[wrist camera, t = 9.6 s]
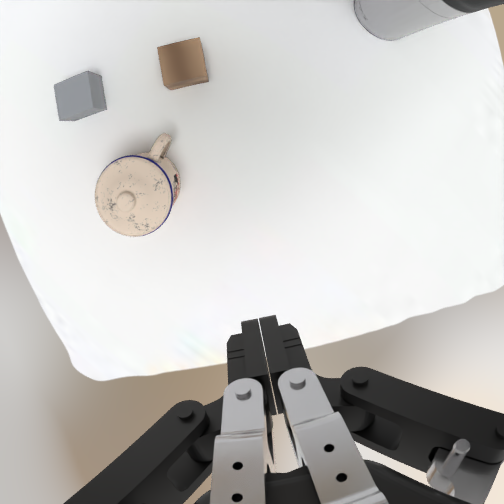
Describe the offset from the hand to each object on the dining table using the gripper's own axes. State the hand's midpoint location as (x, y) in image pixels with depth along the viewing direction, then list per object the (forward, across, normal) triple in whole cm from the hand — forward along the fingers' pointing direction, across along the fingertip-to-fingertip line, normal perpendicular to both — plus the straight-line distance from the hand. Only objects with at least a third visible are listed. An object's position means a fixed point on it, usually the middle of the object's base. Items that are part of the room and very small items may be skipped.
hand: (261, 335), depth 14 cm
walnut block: (+31, +3, -18) cm, 36 cm away
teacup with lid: (+31, +10, -5) cm, 33 cm away
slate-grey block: (+31, +17, -18) cm, 40 cm away
